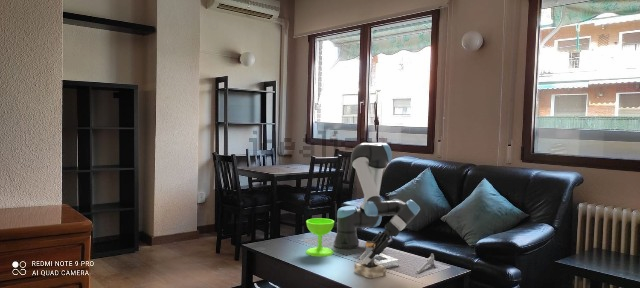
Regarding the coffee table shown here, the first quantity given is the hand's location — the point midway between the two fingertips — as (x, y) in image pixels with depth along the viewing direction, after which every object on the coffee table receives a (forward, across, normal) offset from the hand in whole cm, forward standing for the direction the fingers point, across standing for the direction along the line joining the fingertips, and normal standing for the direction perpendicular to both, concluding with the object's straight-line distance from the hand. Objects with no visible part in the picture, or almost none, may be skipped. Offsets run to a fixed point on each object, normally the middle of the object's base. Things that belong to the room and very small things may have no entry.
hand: (362, 261), depth 221 cm
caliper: (-19, +1, -29) cm, 35 cm away
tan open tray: (+2, 0, -7) cm, 7 cm away
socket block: (-5, +13, -14) cm, 20 cm away
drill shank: (+1, 0, -6) cm, 6 cm away
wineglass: (+13, +40, +4) cm, 42 cm away
